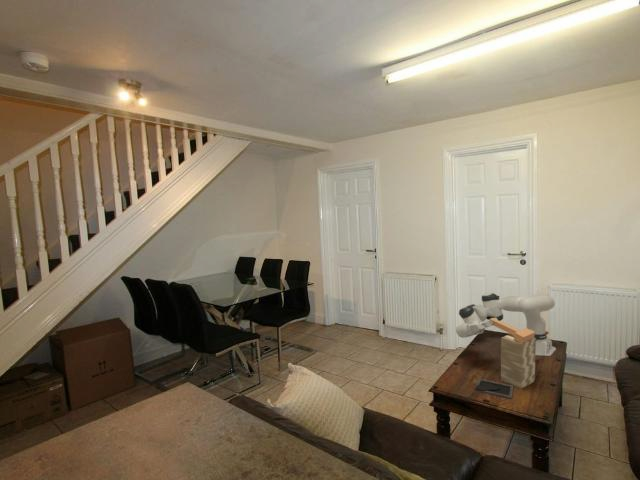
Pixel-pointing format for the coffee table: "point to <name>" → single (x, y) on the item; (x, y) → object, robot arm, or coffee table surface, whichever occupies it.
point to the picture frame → (494, 388)
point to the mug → (536, 366)
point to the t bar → (515, 331)
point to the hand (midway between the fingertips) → (495, 321)
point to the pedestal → (517, 361)
